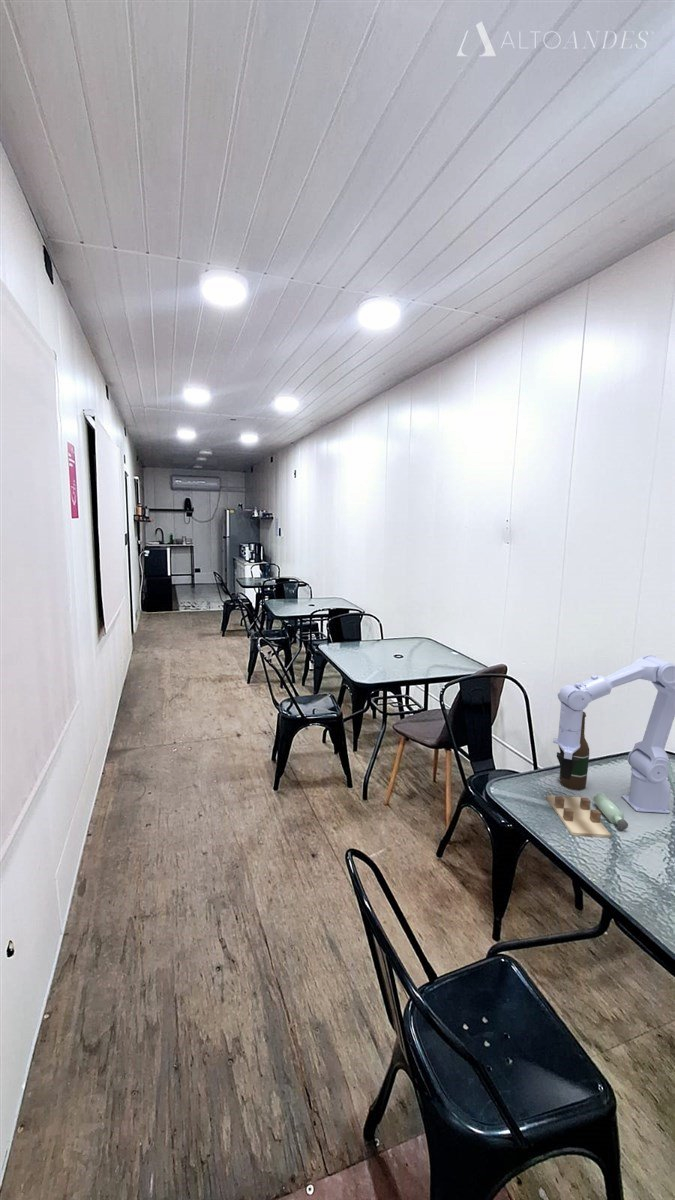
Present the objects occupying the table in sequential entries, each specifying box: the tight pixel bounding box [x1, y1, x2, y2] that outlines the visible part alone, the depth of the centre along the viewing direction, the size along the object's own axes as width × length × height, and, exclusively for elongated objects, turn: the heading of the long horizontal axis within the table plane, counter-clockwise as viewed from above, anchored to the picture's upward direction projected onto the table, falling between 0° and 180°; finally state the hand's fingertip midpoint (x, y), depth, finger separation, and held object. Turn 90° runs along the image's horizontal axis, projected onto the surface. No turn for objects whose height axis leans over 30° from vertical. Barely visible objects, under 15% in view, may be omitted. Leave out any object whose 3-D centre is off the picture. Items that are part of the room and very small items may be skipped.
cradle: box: [545, 794, 612, 839], centre depth 134 cm, size 10×18×4 cm, turn 177°
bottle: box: [592, 792, 629, 831], centre depth 133 cm, size 4×12×4 cm, turn 177°
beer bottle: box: [559, 711, 590, 791], centre depth 150 cm, size 8×8×24 cm
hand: (565, 772), depth 139 cm, fingers open, 7 cm apart
